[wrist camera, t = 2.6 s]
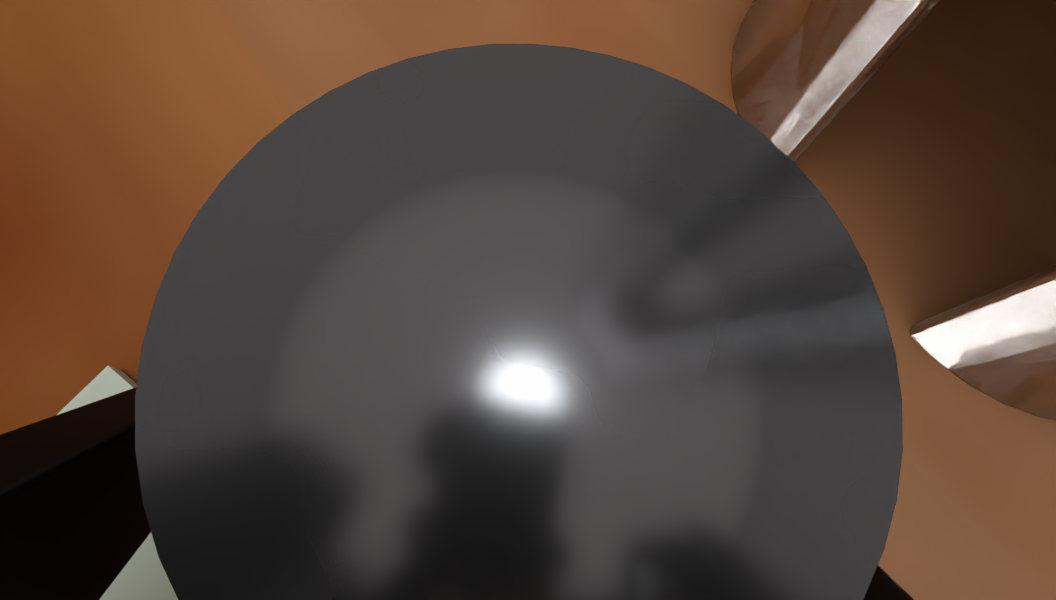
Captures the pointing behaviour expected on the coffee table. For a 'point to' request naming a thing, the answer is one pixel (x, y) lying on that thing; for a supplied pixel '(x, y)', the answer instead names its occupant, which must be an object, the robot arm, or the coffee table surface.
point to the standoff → (517, 352)
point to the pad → (143, 584)
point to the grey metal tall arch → (813, 102)
